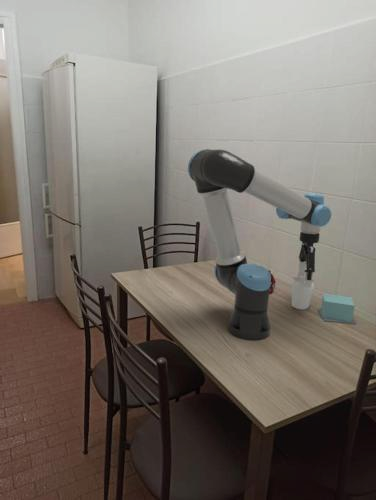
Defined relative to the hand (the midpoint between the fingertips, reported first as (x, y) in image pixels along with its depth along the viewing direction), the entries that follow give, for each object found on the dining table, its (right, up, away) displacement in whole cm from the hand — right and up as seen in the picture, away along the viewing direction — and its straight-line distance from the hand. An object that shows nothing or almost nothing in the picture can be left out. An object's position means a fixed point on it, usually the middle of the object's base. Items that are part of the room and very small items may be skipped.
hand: (304, 281), depth 152 cm
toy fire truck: (-14, -7, +19) cm, 24 cm away
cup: (-1, -11, +3) cm, 12 cm away
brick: (+11, -13, -6) cm, 18 cm away
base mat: (+11, -14, -5) cm, 18 cm away
